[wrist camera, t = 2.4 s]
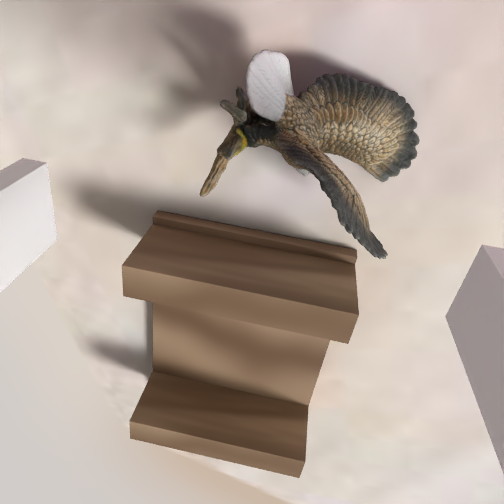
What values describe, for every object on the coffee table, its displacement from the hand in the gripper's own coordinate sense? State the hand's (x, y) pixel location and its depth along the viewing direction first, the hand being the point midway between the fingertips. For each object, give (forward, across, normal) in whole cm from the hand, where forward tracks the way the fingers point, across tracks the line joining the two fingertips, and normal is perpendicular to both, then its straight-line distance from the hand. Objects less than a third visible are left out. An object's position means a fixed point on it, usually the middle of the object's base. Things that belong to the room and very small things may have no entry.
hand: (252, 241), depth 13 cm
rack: (+11, -1, -14) cm, 17 cm away
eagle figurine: (+11, +2, +1) cm, 11 cm away
